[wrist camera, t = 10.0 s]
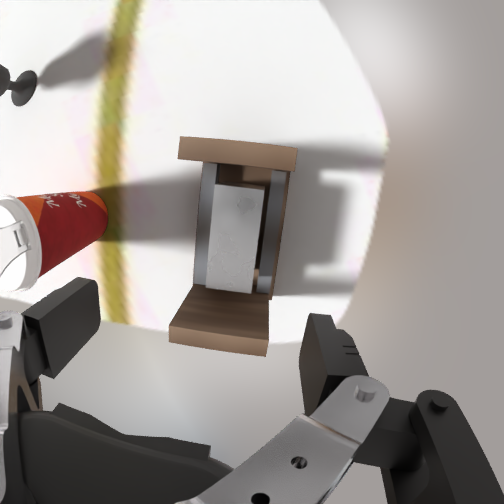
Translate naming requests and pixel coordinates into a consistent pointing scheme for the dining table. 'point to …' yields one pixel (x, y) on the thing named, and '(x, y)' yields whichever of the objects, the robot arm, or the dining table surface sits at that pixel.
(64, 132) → the dining table surface
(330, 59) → the dining table surface
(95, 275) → the dining table surface
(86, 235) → the paper cup
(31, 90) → the sundae
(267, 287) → the wooden holder
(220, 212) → the metal block
